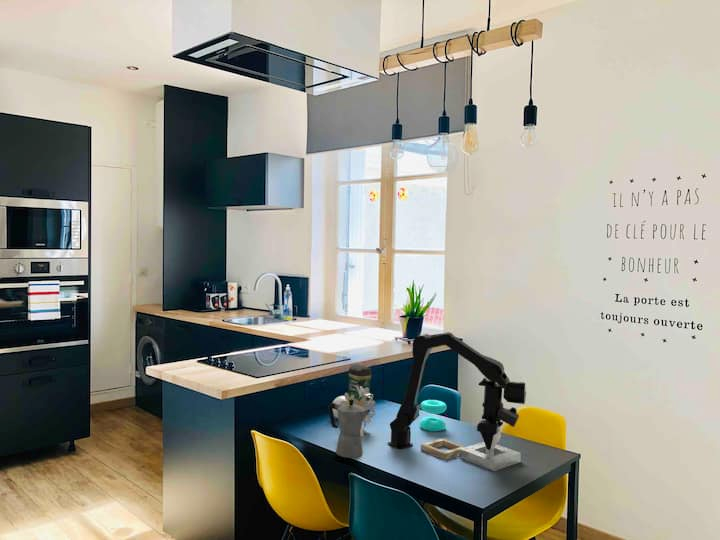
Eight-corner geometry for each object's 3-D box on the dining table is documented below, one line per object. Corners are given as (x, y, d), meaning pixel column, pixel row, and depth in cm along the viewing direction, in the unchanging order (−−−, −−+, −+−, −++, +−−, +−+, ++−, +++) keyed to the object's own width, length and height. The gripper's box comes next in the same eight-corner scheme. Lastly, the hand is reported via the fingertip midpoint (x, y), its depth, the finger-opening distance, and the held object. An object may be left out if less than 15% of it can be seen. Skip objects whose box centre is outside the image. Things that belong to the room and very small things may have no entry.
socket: (494, 471, 185) (494, 461, 184) (459, 457, 195) (459, 448, 195) (520, 461, 194) (520, 452, 193) (486, 449, 204) (486, 441, 204)
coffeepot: (373, 452, 197) (375, 399, 196) (360, 461, 188) (362, 405, 188) (333, 443, 204) (335, 392, 203) (319, 451, 196) (321, 398, 195)
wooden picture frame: (445, 459, 193) (445, 453, 193) (420, 450, 201) (420, 444, 201) (466, 453, 200) (467, 447, 200) (442, 443, 208) (442, 438, 208)
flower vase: (331, 436, 232) (354, 440, 210) (321, 390, 235) (342, 389, 212) (361, 427, 238) (386, 430, 215) (350, 382, 240) (374, 380, 217)
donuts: (418, 404, 222) (422, 398, 232) (417, 430, 223) (421, 423, 232) (445, 407, 220) (448, 400, 229) (444, 433, 220) (446, 425, 230)
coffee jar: (343, 407, 249) (345, 364, 249) (357, 404, 255) (359, 362, 254) (359, 413, 242) (360, 368, 242) (373, 410, 248) (374, 366, 247)
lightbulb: (499, 461, 191) (501, 428, 190) (479, 459, 192) (481, 426, 191) (499, 454, 197) (501, 422, 196) (479, 452, 198) (481, 420, 198)
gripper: (514, 410, 182) (511, 460, 183) (521, 396, 199) (518, 442, 200) (478, 405, 186) (475, 454, 187) (488, 392, 203) (485, 437, 204)
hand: (490, 446), depth 194 cm, fingers closed on lightbulb, 6 cm apart
